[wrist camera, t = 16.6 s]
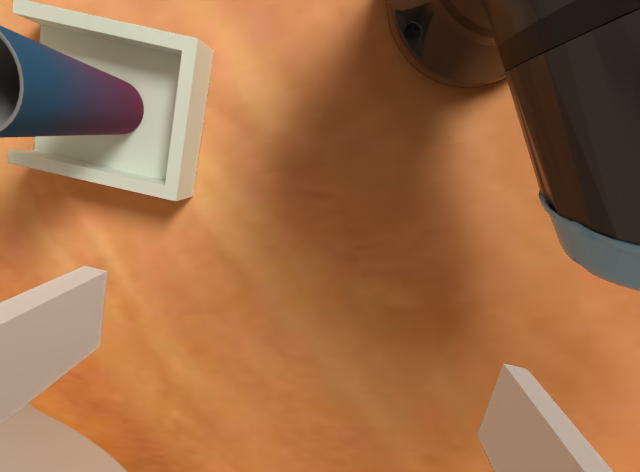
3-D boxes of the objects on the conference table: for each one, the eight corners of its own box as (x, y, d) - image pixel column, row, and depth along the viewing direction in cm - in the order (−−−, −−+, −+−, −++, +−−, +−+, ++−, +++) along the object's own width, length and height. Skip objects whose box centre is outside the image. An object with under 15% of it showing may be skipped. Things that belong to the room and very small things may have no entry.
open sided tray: (49, 14, 36) (13, -3, 32) (213, 50, 36) (197, 38, 32) (41, 161, 39) (7, 162, 35) (192, 196, 39) (175, 201, 35)
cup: (87, 61, 36) (-92, -2, 21) (157, 78, 36) (26, 25, 21) (81, 135, 37) (-90, 123, 23) (148, 150, 37) (20, 149, 23)
